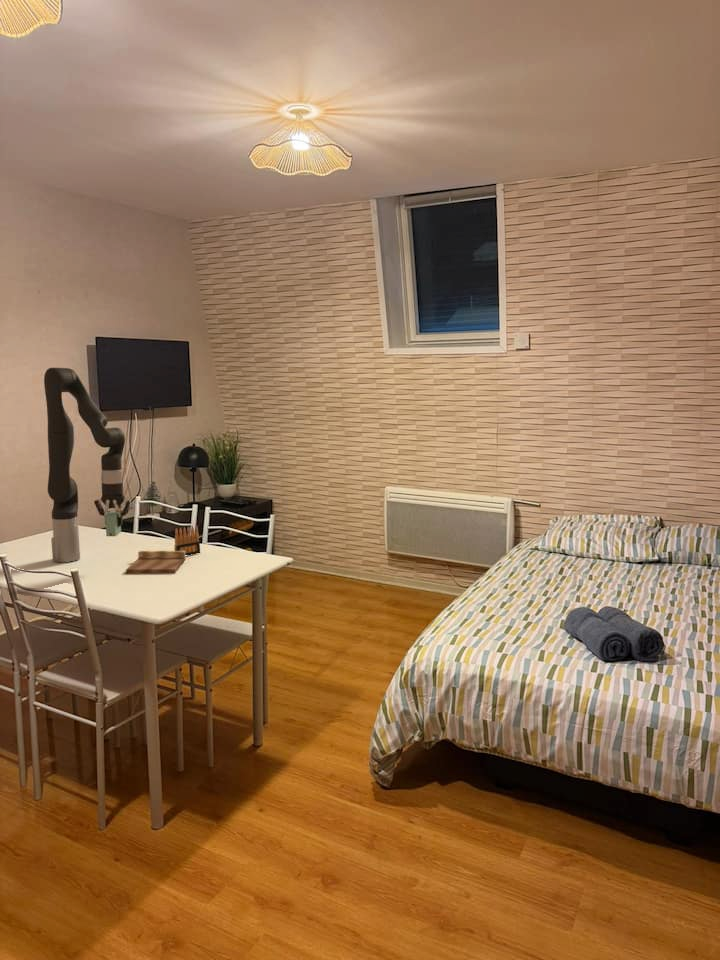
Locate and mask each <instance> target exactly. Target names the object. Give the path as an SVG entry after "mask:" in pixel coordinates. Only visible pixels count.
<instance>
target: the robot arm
mask: <svg viewBox="0 0 720 960" xmlns="http://www.w3.org/2000/svg"><path fill="white" fill-rule="evenodd" d="M43 388H44V392H45V402H46V413H47V415H46V416H47V445H48V446H47V448H48V449H47V450H48V451H47V452H48V466H49V467H48V468H49V469H48V480H47V494H48V496H49V498H50V499H52V501H53V505H52V507H53V508H52V510H51V520H52V522H51V523H52V537H51V553H52V562H55V561H57V562H56V563H71V562H70V561H73V562H76V561H75V560H77V561H78V559H79V560H80V559H81V550H80V536H79V535H80V533H79V532H80V531H79V519H78V510H79V492H78V491H79V489H78V485H77V481H76V480H74V478H72V477H71V474H70V473H71V472H70V469H71V468H70V467H71V466H70V465H71V460H72V455H73V450H74V445H75V432H74V430H75V429H74V425H73V422H72V420H71V418H70V417H69V415H68V414H67V413H68V412H66V410H65V408H64V404H63V397H62V393H69V394H70V395H71V396H72V397H73V398H74V399H75V400H76V403H77V411H78V414H79V416H80V418H81V419H82V421H83V422H84V423H85V424H86V425H87V426H88V428H89V429H90V433H91V434H92V437H93V440H94V441H95V443H96V444H97V445H98V446H99V447H101V448H104V449H105V448H108V451H107V452H106V453H104V454H102V455H101V458H100V459H101V460H100V462H101V463H100V464H101V466H100V467H101V474H100V476H101V479H100V481H101V494H102V495H101V498H100V499H99V498H98V499H96V500H94V502H93V503H94V505H95V508H96V511H97V512H98V514H99V516H103V517H104V518H105V515H107V514H108V513H109V512H111V511H112V509H115V512H117V515H118V517H117V521H118V527H120V526H121V527H122V525H123V522H124V521H123V516H124V517H125V516H126V515H128V513H129V510H130V507H131V505H132V500H131V499H127V498H125V496H124V482H123V481H124V478H123V477H124V475H123V471H122V470H123V469H122V456H123V452H124V449H125V448H124V447H125V443H126V437H125V433H124V431H123V430H122V429H121V428H120V427H106V426H107V425H108V419H107V417H106V416H105V414H104V413H103V412H102V411H101V410H100V409H99V407H98V406H97V405H96V403H95V402H94V401H93V400H92V398H91V396H90V393H89V392H88V391H87V389H86V387H85V385H84V384H83V381H82V380H81V379H80V377H79V375H78V374H77V373H76V372H75V370H74V369H73V368H69V367H49V368H47V370H46V371H45V373H44V377H43ZM123 503H124V508H123V507H122V504H123ZM103 504H104V507H103ZM104 524H105V526H106V522H105V521H104Z"/></svg>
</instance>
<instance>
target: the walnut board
mask: <svg viewBox="0 0 720 960" xmlns="http://www.w3.org/2000/svg"><path fill="white" fill-rule="evenodd" d="M137 554H138V557H137V559H136V560H135V561H133V563H132V564H131V565H129V566H128V567H127V568H126V569H125V574H176V573H177V572H178V570H180V568H181V567H182V566H181V565H183V564H184V563H185V562H186V561H185V560H186V556H185V551H175V550H139V551H138V552H137ZM184 561H185V562H184ZM180 566H181V567H180ZM176 571H177V572H176Z"/></svg>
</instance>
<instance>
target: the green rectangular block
mask: <svg viewBox="0 0 720 960" xmlns="http://www.w3.org/2000/svg"><path fill="white" fill-rule="evenodd" d="M117 517H118V515H117V512H116V510H115V511H113V510H110V512H109V513H108V514H107V515H105V517H104V523H105V522H106V525H105V534H106V537H118V536H119V534H120V533H121V532H122V525H121V526H120V527H118V521H117Z"/></svg>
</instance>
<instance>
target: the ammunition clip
mask: <svg viewBox="0 0 720 960" xmlns="http://www.w3.org/2000/svg"><path fill="white" fill-rule="evenodd" d="M199 538H200V537H199V529H198V525H197V524H196V525H195V527H194V525H191V528H190V526H187V529H186V527H185V526H184V527H183V530H182V527H179V530H178V528H176V527H175V532H174V551H185V555H190V556H192V555H191V554H195V555H197V554H196V553H200V554H201V545H200V539H199Z"/></svg>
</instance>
